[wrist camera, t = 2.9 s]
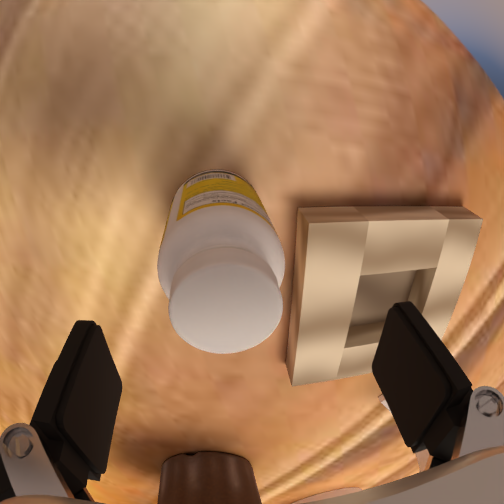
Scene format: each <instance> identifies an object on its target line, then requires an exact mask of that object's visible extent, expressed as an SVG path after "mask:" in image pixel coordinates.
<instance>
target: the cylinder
mask: <svg viewBox="0 0 504 504" xmlns="http://www.w3.org/2000/svg"><path fill="white" fill-rule="evenodd" d="M358 491H362V489H360V488H355V487H352V488H343V489H338V490H333V491H329V492H324V493H321V494H317V495H313V496H310V497H307V498H304V499H301V500H299V501H296V502H294V503H292V504H300V503H306V502H312V501H317V500H323V499H328V498H333V497H337V496H342V495H346V494H350V493H354V492H358Z"/></svg>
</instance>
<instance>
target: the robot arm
mask: <svg viewBox="0 0 504 504" xmlns="http://www.w3.org/2000/svg"><path fill="white" fill-rule="evenodd" d="M372 372H373V374H374V377H375V379H376V381H377V383H378V385H379V387H380V389H381V391H382V393H383V396H384V398H385V400H386V402H387V404H388V406H389V409H390V411H391V413H392V415H393V417H394V419H395V422H396V424H397V426H398V428H399V431H400V433H401V435H402V437H403V440H404V442H405V444H406V445H407V447H411V449H412V451H413V453H417V452H420V451H423V450H425V449H427V450H428V452H429V458H428V461H427V463H426V466H425V469H424V471H423V472H420V473H417V474H414V475H411V476H408V477H405V478H402V479H399V480H396V481H393V482H390V483H387V484H384V485H380V486H377V487H373V488H370V489H366V490H362V491H358V492H354V493H350V494H346V495H342V496H337V497H333V498H328V499H323V500H317V501H312V502H306V503H300V504H504V396H503V395H502V394H501V393H500V392H499V391H498V390H496V389H494V388H492V387H488V386H482V387H478V388H476V389H475V390H474V391H473V390H472V388H471V386H472V384H471V382H470V381H469V379H468V378H467V376H466V375H465V373H464V372H463V370H462V369H461V367H460V366H459V365H458V363H457V362H456V360H455V359H454V357H453V356H452V355H451V353H450V352H449V350H448V349H447V348H446V346H445V345H444V344H443V342H442V341H441V339H440V338H439V337H438V335H437V334H436V333H435V331H434V330H433V329H432V327H431V326H430V325H429V323H428V322H427V321H426V319H425V318H424V317H423V316H422V314H421V313H420V312H419V310H418V309H417V308H416V306H415V305H414V304H413V303H412V302H411V301H405V302H398V303H394V304H393V306H392V308H390V309H389V310H388V313H387V317H386V320H385V324H384V327H383V330H382V334H381V337H380V340H379V343H378V347H377V350H376V353H375V356H374V359H373V362H372ZM121 393H122V381H121V378H120V376H119V374H118V371H117V369H116V366H115V364H114V361H113V359H112V356H111V353H110V351H109V348H108V345H107V343H106V340H105V337H104V334H103V332H102V329H101V327H100V326H99V325H96V323H95V322H94V321H86V320H78V321H76V322H75V324H74V326H73V328H72V330H71V332H70V334H69V336H68V339H67V341H66V343H65V345H64V347H63V349H62V351H61V353H60V356H59V358H58V360H57V361H56V362H55V364H54V366H53V368H52V371H51V373H50V375H49V377H48V380H47V382H46V384H45V387H44V389H43V392H42V394H41V397H40V399H39V402H38V404H37V407H36V409H35V412H34V414H33V417H32V420H31V422H30V425H28V424H25V423H16V424H13V425H11V426H9V427H8V428H6V429H5V431H4V432H3V433H2V435H1V437H0V504H104V503H98V502H95V501H94V499H93V498H92V496H91V495H90V493H89V492H88V490H87V489H86V485H87V480H88V479H90V480H96V481H100V477H101V474H104V473H105V471H106V468H107V462H108V456H109V451H110V445H111V440H112V435H113V430H114V425H115V420H116V415H117V410H118V406H119V401H120V397H121Z"/></svg>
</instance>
